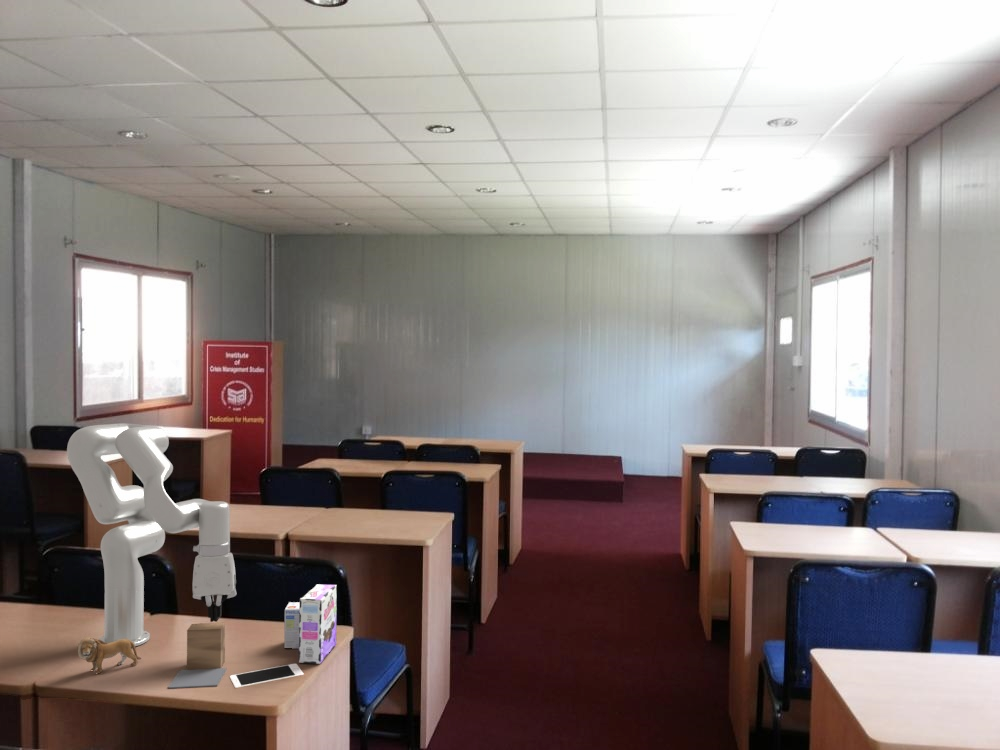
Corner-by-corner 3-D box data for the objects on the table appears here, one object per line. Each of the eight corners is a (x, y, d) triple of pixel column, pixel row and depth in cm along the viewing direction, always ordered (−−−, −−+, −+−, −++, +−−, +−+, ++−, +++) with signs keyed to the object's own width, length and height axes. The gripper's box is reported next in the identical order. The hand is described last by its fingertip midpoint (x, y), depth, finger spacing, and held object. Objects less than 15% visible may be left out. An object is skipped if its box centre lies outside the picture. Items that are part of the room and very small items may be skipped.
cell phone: (304, 676, 181) (304, 674, 181) (235, 690, 173) (235, 687, 173) (296, 665, 188) (296, 663, 188) (229, 678, 180) (229, 675, 180)
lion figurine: (81, 680, 176) (81, 643, 176) (73, 674, 180) (74, 637, 180) (145, 663, 187) (145, 627, 187) (136, 657, 191) (137, 622, 191)
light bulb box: (327, 639, 205) (328, 600, 205) (324, 648, 198) (324, 608, 198) (288, 640, 204) (288, 601, 204) (283, 649, 197) (283, 609, 197)
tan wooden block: (191, 663, 187) (192, 623, 187) (224, 661, 189) (225, 622, 189) (186, 670, 183) (187, 630, 183) (220, 668, 184) (221, 628, 184)
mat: (179, 671, 182) (179, 670, 182) (226, 669, 184) (226, 667, 184) (167, 688, 172) (167, 687, 172) (217, 686, 174) (217, 684, 174)
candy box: (320, 664, 187) (321, 599, 187) (297, 663, 187) (298, 598, 187) (337, 644, 201) (337, 583, 201) (316, 643, 201) (316, 583, 201)
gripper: (180, 554, 189) (180, 626, 189) (241, 551, 191) (241, 623, 191) (188, 547, 196) (188, 617, 196) (247, 545, 198) (247, 614, 198)
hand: (214, 619), depth 194 cm, fingers closed
